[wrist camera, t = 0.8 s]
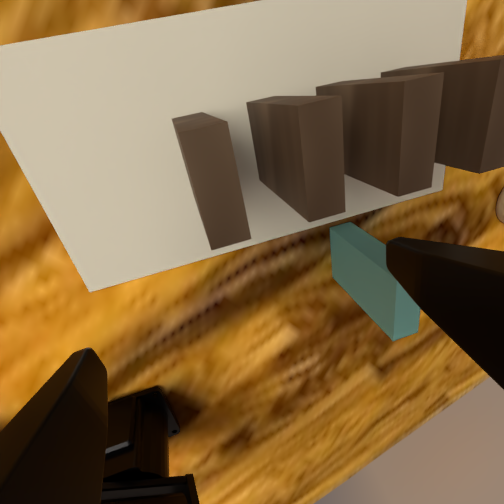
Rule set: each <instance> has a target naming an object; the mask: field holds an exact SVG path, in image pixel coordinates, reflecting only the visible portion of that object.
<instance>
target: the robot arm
mask: <svg viewBox="0 0 504 504" xmlns="http://www.w3.org/2000/svg"><path fill="white" fill-rule="evenodd" d="M386 265H387V268H388V270H389V272H390V273H391V274H392V275H393V277H394V278H395V279H396V280H397V281H398V283H399V284H400V285H401V286H402V287H403V289H404V290H405V291H406V292H407V293H408V295H409V296H410V297H411V298H412V299H413V301H414V302H415V303H416V304H417V305H418V306H419V307H420V308H421V309H422V310H423V311H424V312H425V313H426V314H427V315H428V316H429V317H430V318H431V319H432V320H433V321H434V322H435V323H436V324H437V325H438V326H439V327H440V328H441V329H442V330H443V331H444V332H445V333H446V334H447V335H448V336H449V337H450V338H451V339H452V340H453V341H454V342H455V343H456V344H457V345H458V346H459V347H460V348H461V349H463V350H464V351H465V352H466V353H467V354H468V355H469V356H470V357H471V358H472V359H473V360H474V361H475V362H476V363H477V364H478V365H479V366H480V367H481V368H482V369H483V370H484V371H485V372H486V373H487V374H488V375H489V376H490V377H491V378H492V379H493V380H495V382H496V383H498V385H500V386H501V387H502V388H503V389H504V251H497V250H490V249H483V248H476V247H468V246H461V245H454V244H447V243H440V242H433V241H426V240H419V239H411V238H404V237H398V238H395V239H392V240H389V241H388V242H387V244H386ZM179 432H180V426H179V424H178V422H177V420H176V418H175V416H174V414H173V412H172V410H171V408H170V406H169V404H168V402H167V400H166V398H165V396H164V394H163V392H162V390H161V389H160V388H158V387H154V388H151V389H148V390H145V391H142V392H139V393H136V394H133V395H130V396H128V397H125V398H122V399H119V400H116V401H113V402H110V403H108V391H107V371H106V368H105V366H104V365H103V363H102V362H101V360H100V359H99V357H98V356H97V354H96V353H95V351H94V350H93V349H92V348H85V349H82V350H79V351H76V352H74V353H73V354H72V355H71V356H70V357H69V358H68V359H67V360H66V361H65V362H64V364H63V365H62V366H61V367H60V368H59V369H58V370H57V371H56V372H55V373H54V374H53V375H52V377H51V378H50V379H49V380H48V381H47V382H46V383H45V384H44V385H43V386H42V387H41V388H40V390H39V391H38V392H37V393H36V394H35V395H34V396H33V397H32V398H31V399H30V400H29V401H28V403H27V404H26V405H25V406H24V407H23V408H22V409H21V410H20V411H19V412H18V413H17V414H16V416H15V417H14V418H13V419H12V420H11V421H10V422H9V423H8V424H7V425H6V426H5V427H4V429H3V430H2V431H1V432H0V504H199V499H198V495H197V491H196V486H195V482H194V477H193V474H186V475H185V476H175V477H169V445H168V437H171V436H174V435H176V434H178V433H179Z"/></svg>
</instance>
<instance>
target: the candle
mask: <svg viewBox="0 0 504 504" xmlns="http://www.w3.org/2000/svg"><path fill="white" fill-rule="evenodd" d="M496 214H497V217H498V219H499V220H500V221H501V222H503V223H504V188H503V190H502V191H501V193H500V195H499V198H498V201H497V205H496Z"/></svg>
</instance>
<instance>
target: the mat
mask: <svg viewBox="0 0 504 504" xmlns="http://www.w3.org/2000/svg"><path fill="white" fill-rule="evenodd" d="M466 5H467V0H261V1H255V2H250V3H244V4H238V5H232V6H226V7H221V8H215V9H209V10H203V11H198V12H192V13H186V14H180V15H175V16H169V17H163V18H157V19H151V20H146V21H140V22H134V23H128V24H123V25H117V26H111V27H105V28H99V29H94V30H88V31H82V32H76V33H71V34H65V35H59V36H53V37H48V38H42V39H36V40H30V41H24V42H19V43H13V44H7V45H1V46H0V131H1V133H2V135H3V136H4V138H5V140H6V142H7V144H8V145H9V147H10V149H11V151H12V153H13V154H14V156H15V158H16V160H17V162H18V163H19V165H20V167H21V169H22V171H23V172H24V174H25V176H26V178H27V180H28V182H29V183H30V185H31V187H32V189H33V191H34V192H35V194H36V196H37V198H38V200H39V201H40V203H41V205H42V207H43V209H44V210H45V212H46V214H47V216H48V218H49V219H50V221H51V223H52V225H53V227H54V229H55V230H56V232H57V234H58V236H59V238H60V239H61V241H62V243H63V245H64V247H65V248H66V250H67V252H68V254H69V256H70V257H71V259H72V261H73V263H74V265H75V266H76V268H77V270H78V272H79V274H80V276H81V277H82V279H83V281H84V283H85V285H86V286H87V288H88V290H89V292H93V291H96V290H100V289H103V288H107V287H110V286H113V285H117V284H120V283H124V282H127V281H131V280H134V279H138V278H141V277H144V276H148V275H151V274H155V273H158V272H162V271H165V270H169V269H172V268H175V267H179V266H182V265H186V264H189V263H193V262H196V261H200V260H203V259H206V258H210V257H213V256H217V255H220V254H224V253H227V252H231V251H234V250H237V249H241V248H244V247H248V246H251V245H255V244H258V243H262V242H265V241H268V240H272V239H275V238H279V237H282V236H286V235H289V234H293V233H296V232H300V231H303V230H306V229H310V228H313V227H317V226H320V225H324V224H327V223H331V222H334V221H337V220H341V219H344V218H348V217H351V216H355V215H358V214H362V213H365V212H368V211H372V210H375V209H379V208H382V207H386V206H389V205H393V204H396V203H399V202H403V201H406V200H410V199H413V198H417V197H420V196H424V195H427V194H430V193H434V192H437V191H441V190H442V189H443V182H444V174H445V166H446V165H442V164H438V163H434V169H433V178H432V187H431V188H428V189H424V190H421V191H417V192H414V193H410V194H407V195H403V196H400V197H397V196H395V195H392V194H390V193H387V192H385V191H383V190H380V189H378V188H376V187H373V186H371V185H369V184H366V183H364V182H362V181H359V180H357V179H354V178H352V177H350V176H347V175H345V174H344V178H345V209H346V212H344V213H341V214H337V215H334V216H330V217H327V218H323V219H320V220H316V221H313V222H308V221H307V220H305V219H304V218H303V217H302V216H301V215H300V214H298V213H297V212H296V211H295V210H294V209H293V208H291V207H290V206H289V205H288V204H287V203H286V202H284V201H283V200H282V199H281V198H280V197H279V196H277V195H276V194H275V193H274V192H273V191H271V190H270V189H269V188H268V187H267V186H266V185H264V184H263V183H262V182H261V181H260V180H259V174H258V169H257V163H256V157H255V151H254V145H253V140H252V134H251V128H250V122H249V116H248V111H247V105H246V102H249V101H254V100H258V99H263V98H267V97H272V96H316V87H317V86H322V85H326V84H331V83H335V82H340V81H348V80H360V79H371V78H381V72H385V71H390V70H394V69H399V68H403V67H410V66H418V65H426V64H435V63H443V62H451V61H459V59H460V51H461V43H462V36H463V28H464V20H465V12H466ZM200 112H203V113H206V114H209V115H211V116H214V117H217V118H219V119H222V120H224V121H227V122H228V127H229V131H230V136H231V141H232V146H233V151H234V156H235V161H236V165H237V170H238V175H239V180H240V185H241V190H242V195H243V200H244V204H245V209H246V214H247V219H248V224H249V229H250V234H251V239H250V240H247V241H243V242H240V243H236V244H233V245H229V246H226V247H222V248H219V249H215V250H212V251H211V248H210V245H209V241H208V238H207V235H206V232H205V229H204V226H203V223H202V220H201V217H200V214H199V211H198V208H197V205H196V201H195V198H194V195H193V192H192V188H191V185H190V181H189V178H188V174H187V171H186V167H185V164H184V160H183V157H182V153H181V150H180V146H179V143H178V140H177V136H176V133H175V129H174V126H173V122H172V118H177V117H181V116H186V115H190V114H195V113H200Z"/></svg>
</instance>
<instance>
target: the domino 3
mask: <svg viewBox="0 0 504 504" xmlns="http://www.w3.org/2000/svg"><path fill="white" fill-rule="evenodd" d="M443 79H444V72H441V73H429V74H418V75H406V76H395V77H383V78H371V79H360V80H348V81H340V82H335V83H331V84H326V85H322V86H317V87H316V96H342V118H343V148H344V174H345V175H347V176H350V177H352V178H354V179H357V180H359V181H362V182H364V183H366V184H369V185H371V186H373V187H376V188H378V189H380V190H383V191H385V192H387V193H390V194H392V195H395V196H397V197H400V196H403V195H407V194H410V193H414V192H417V191H421V190H424V189H428V188H431V187H432V178H433V169H434V160H435V151H436V142H437V133H438V124H439V115H440V106H441V97H442V88H443Z"/></svg>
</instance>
